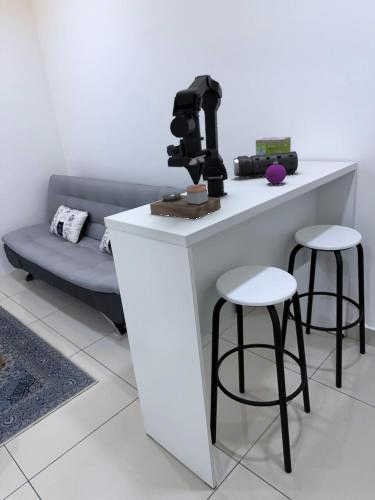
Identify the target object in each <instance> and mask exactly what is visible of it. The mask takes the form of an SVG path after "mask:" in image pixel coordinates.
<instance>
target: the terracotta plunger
mask: <svg viewBox="0 0 375 500" xmlns="http://www.w3.org/2000/svg"><path fill="white" fill-rule="evenodd" d="M186 195H187V201H188V203H192V204H201V203H203V202H206V201H208V189H207V185H206V184H204V183H198V185H194V184H191V185H188V186H186Z"/></svg>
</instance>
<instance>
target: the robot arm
mask: <svg viewBox="0 0 375 500" xmlns="http://www.w3.org/2000/svg"><path fill="white" fill-rule="evenodd" d="M222 90H223V89H222V87H221V85H220V82H219V81H217V80H215V79H213V78H212V77H211V75H209V74H202V75H197V76H195V77H194V80H193V82H192V83H191V84H190V85H189V86H188V87H187V88H186V89H181V90H179V91H177V92H176V94H175V96H174V100H173V107H172V115H171V116H172V117H174V118H172V120H171V121H170V124H169V131H170V133H171V135H172V136H173V137H175V138H177V139H179V140H178V141H179V144H178V145H175V144H170V145H167V146H166V153H167V157H168V158H167V167H168V168H185V169H186V171H187V173H188V174H189V177H190V178H191V180H192V183H193V185H198V184H200V181H201V177H202V181H203V182H206V183H207V185H206V189H207V194H208V197H209V198H221V197H223V196H226V195H228V192H225V187H224V186H225V183H224V181H226V180H228V179H229V178H228V177H229V176H228V171H227V168H226V166H225V164H224V159H223V157H222V156H221V154H220V152H219V134H218V132H219V131H218V130H219V129H218V110H219V108H220V106H221V104H222V98H223V91H222ZM201 110H202V111H203V112H204V133H205V135H204V136H201V122H200V116H201V115H200V112H201ZM203 141H205V148H204V149H203V146H202V142H203Z"/></svg>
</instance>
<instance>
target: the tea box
mask: <svg viewBox="0 0 375 500" xmlns="http://www.w3.org/2000/svg"><path fill="white" fill-rule="evenodd" d="M291 138H292V137H291V136H280V137H263V138H259V139H255V155H266V154H273V153H285V152H292V149H291V148H292V147H291V146H292V145H291V141H292V139H291Z"/></svg>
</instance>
